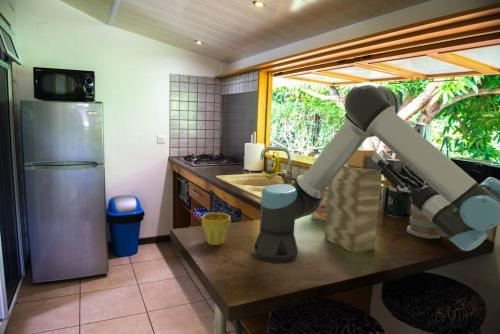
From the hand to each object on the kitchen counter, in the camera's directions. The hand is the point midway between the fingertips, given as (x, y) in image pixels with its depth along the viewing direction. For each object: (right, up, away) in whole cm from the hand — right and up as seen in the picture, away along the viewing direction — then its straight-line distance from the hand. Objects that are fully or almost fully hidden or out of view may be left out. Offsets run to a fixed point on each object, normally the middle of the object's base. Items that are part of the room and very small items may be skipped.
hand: (379, 155), depth 112 cm
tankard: (+32, -33, +26) cm, 53 cm away
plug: (-1, -4, +3) cm, 5 cm away
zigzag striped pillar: (-6, -33, +14) cm, 37 cm away
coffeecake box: (-7, -29, +46) cm, 55 cm away
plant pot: (-57, -32, +10) cm, 66 cm away
